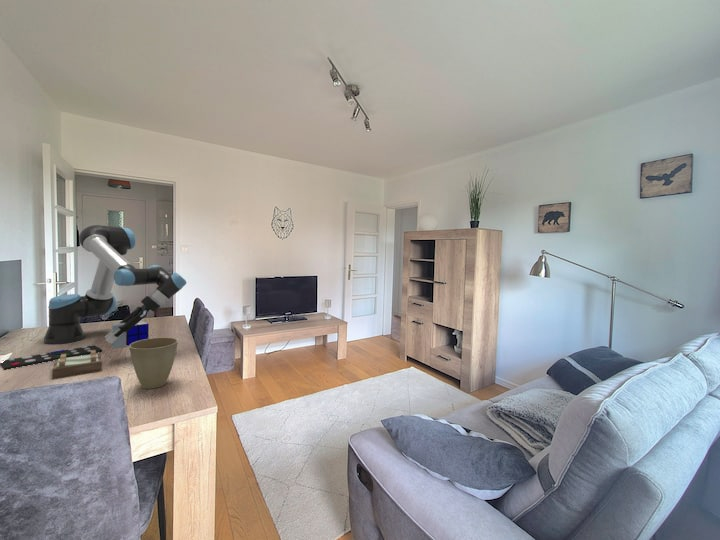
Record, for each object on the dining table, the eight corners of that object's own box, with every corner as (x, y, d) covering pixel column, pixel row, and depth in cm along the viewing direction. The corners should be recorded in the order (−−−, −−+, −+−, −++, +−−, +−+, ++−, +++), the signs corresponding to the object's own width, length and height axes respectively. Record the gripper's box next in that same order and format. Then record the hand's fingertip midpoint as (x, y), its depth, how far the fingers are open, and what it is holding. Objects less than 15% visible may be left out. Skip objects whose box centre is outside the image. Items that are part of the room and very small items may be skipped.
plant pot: (178, 374, 122) (179, 335, 121) (175, 389, 109) (176, 346, 108) (132, 379, 115) (133, 338, 114) (124, 396, 102) (125, 350, 101)
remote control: (-1, 364, 124) (-1, 359, 124) (94, 348, 149) (94, 344, 149) (4, 371, 118) (4, 366, 118) (102, 353, 143) (102, 348, 143)
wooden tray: (55, 368, 122) (55, 354, 122) (100, 361, 131) (100, 348, 131) (52, 379, 112) (52, 363, 112) (101, 370, 122) (101, 356, 122)
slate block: (112, 345, 133) (112, 323, 133) (124, 344, 136) (125, 322, 136) (112, 348, 130) (113, 325, 129) (125, 347, 133) (126, 324, 132)
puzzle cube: (126, 346, 153) (126, 326, 153) (118, 342, 158) (118, 323, 158) (148, 341, 162) (149, 323, 161) (140, 338, 167) (140, 320, 166)
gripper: (164, 309, 136) (117, 351, 126) (157, 302, 149) (114, 340, 139) (150, 298, 132) (100, 340, 122) (145, 292, 145) (99, 330, 135)
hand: (107, 340), depth 130 cm, fingers closed on slate block, 4 cm apart
